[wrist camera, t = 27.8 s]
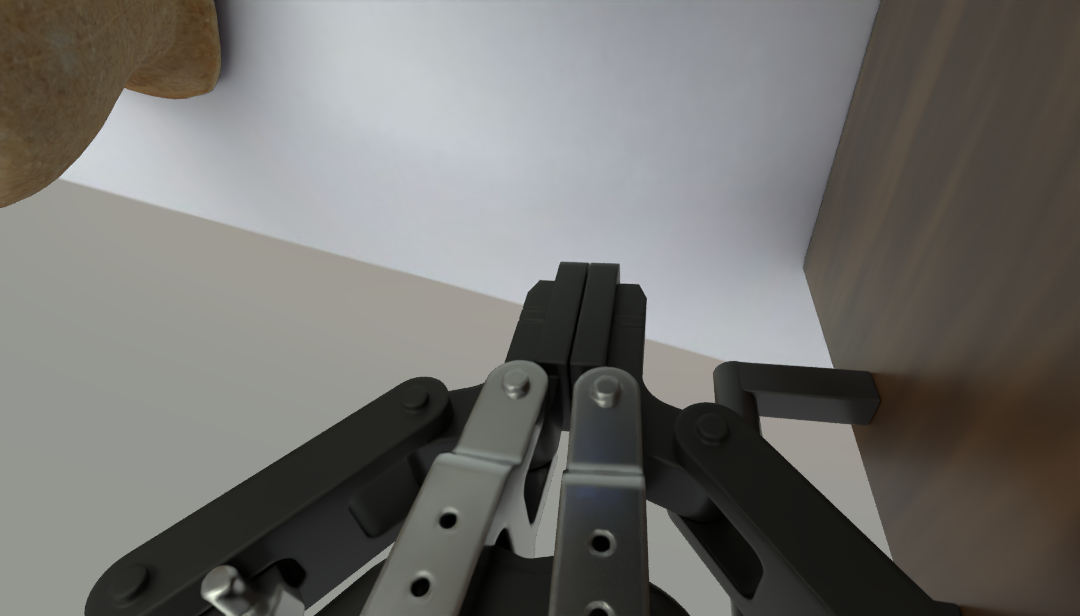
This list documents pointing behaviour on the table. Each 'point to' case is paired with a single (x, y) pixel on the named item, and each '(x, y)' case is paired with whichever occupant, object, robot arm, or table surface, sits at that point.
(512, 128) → the table surface
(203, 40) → the stone cup
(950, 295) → the cupboard door
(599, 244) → the table surface
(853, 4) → the table surface
